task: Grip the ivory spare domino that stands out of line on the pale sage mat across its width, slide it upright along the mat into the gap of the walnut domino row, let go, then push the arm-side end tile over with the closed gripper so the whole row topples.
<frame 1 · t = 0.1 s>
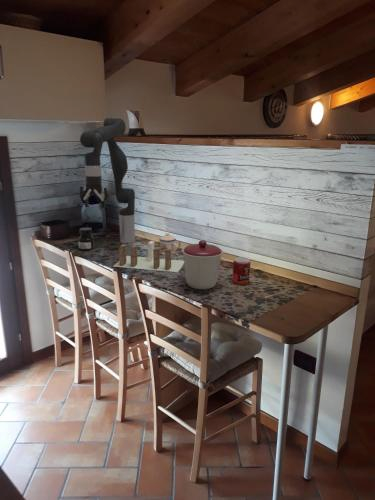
hand: (95, 207, 194), 29 cm above the breakfast bar, fingers open, 8 cm apart
domino a: (123, 264, 200), resting on mat
ink bottle: (86, 249, 227), on the breakfast bar
domino e: (168, 268, 195), resting on mat
canned food: (240, 282, 180), on the breakfast bar
spare domino: (151, 260, 207), resting on mat
mat: (150, 264, 202), on the breakfast bar
domino d: (156, 267, 196), resting on mat
teacup with lid: (169, 254, 220), on the breakfast bar
canister: (201, 285, 175), on the breakfast bar
domino b: (134, 265, 199), resting on mat
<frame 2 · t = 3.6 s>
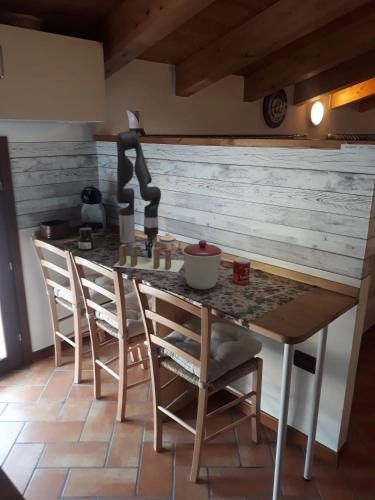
hand: (151, 256, 207), 3 cm above the breakfast bar, fingers closed on spare domino, 5 cm apart
spare domino: (151, 260, 207), resting on mat, touching gripper
everything else where it was.
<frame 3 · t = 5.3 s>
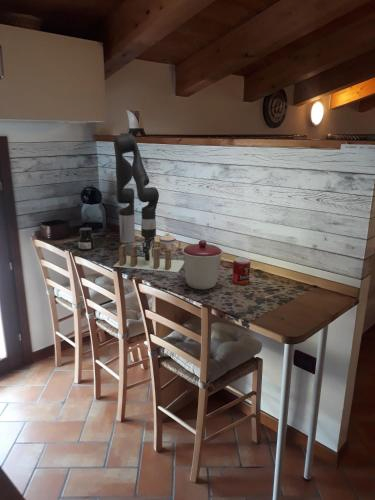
hand: (148, 258, 202), 3 cm above the breakfast bar, fingers closed on spare domino, 5 cm apart
spare domino: (148, 262, 203), point 1 cm above the breakfast bar, touching gripper
everything else where it was.
when the fingers open (3 cm above the breakfast bar, at t = 7.0 s): spare domino stays where it is, resting on mat.
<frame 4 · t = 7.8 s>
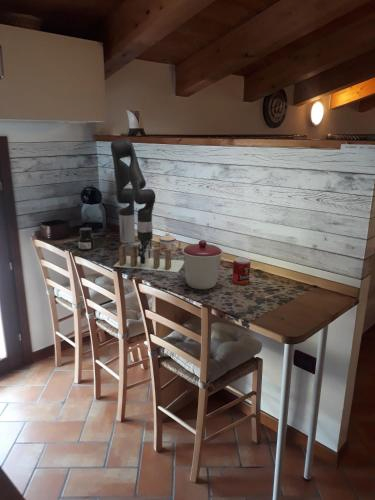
hand: (145, 260, 197), 3 cm above the breakfast bar, fingers open, 8 cm apart
spare domino: (145, 266, 197), resting on mat
everything else where it was.
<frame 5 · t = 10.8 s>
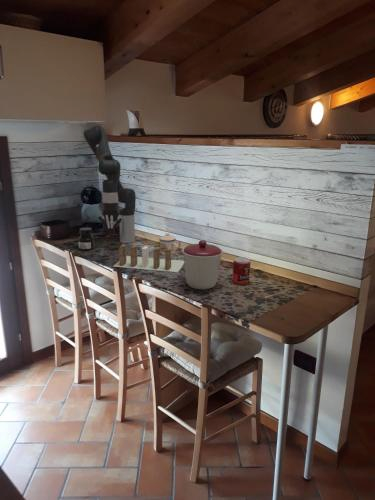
hand: (111, 235, 196), 16 cm above the breakfast bar, fingers closed
nothing on the breakfast bar moved.
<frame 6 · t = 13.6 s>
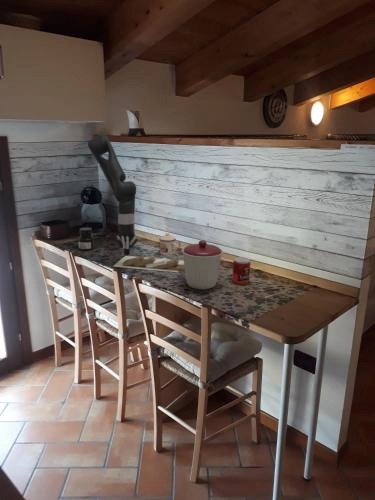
hand: (127, 255, 198), 6 cm above the breakfast bar, fingers closed
domino a: (124, 263, 199), point 1 cm above the breakfast bar, tilted 72°, touching domino b, mat
domino e: (170, 266, 195), point 1 cm above the breakfast bar, tilted 90°, touching domino d, mat
spare domino: (147, 265, 197), point 1 cm above the breakfast bar, tilted 72°, touching domino b, domino d, mat
domino d: (158, 266, 196), point 1 cm above the breakfast bar, tilted 73°, touching domino e, mat, spare domino
domino b: (135, 264, 198), point 1 cm above the breakfast bar, tilted 73°, touching domino a, mat, spare domino
everything else where it was.
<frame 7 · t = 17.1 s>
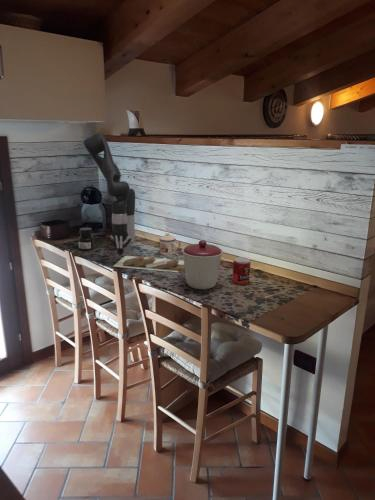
hand: (120, 254, 199), 5 cm above the breakfast bar, fingers closed
nothing on the breakfast bar moved.
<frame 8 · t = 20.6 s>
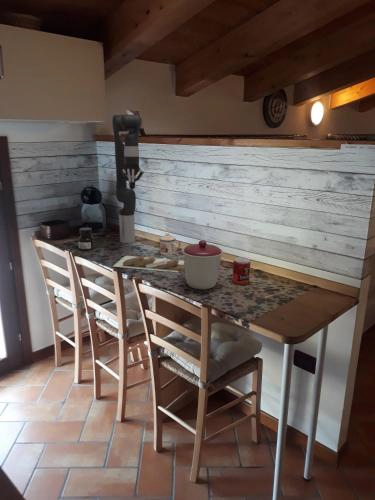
hand: (132, 189, 205), 37 cm above the breakfast bar, fingers closed
nothing on the breakfast bar moved.
at the end: domino e tilted 90°; spare domino tilted 72°; spare domino inside the target area (0.8 cm from its centre), point 1.3 cm above the breakfast bar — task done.
